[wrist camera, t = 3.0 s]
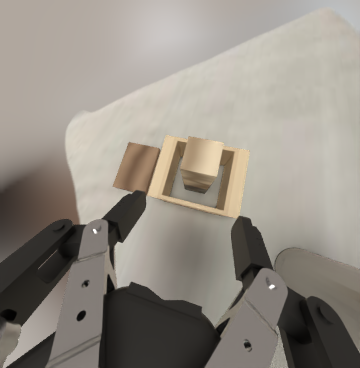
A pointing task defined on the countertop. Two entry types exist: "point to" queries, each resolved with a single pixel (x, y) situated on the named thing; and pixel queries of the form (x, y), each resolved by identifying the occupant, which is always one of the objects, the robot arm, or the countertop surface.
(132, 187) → the walnut board
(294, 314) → the robot arm
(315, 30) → the countertop surface
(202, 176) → the block
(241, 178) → the carton
